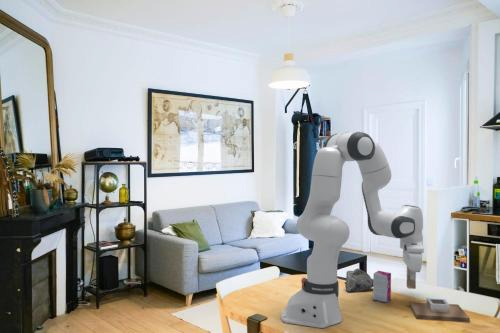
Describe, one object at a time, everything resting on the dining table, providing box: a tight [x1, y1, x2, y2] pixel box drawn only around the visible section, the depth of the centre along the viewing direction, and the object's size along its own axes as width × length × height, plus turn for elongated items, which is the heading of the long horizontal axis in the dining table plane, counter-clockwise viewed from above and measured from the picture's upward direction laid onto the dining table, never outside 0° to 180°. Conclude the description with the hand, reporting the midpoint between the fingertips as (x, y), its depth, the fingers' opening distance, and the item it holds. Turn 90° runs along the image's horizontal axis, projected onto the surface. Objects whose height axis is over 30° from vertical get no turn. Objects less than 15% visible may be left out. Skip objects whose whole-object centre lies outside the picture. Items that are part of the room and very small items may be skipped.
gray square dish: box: [426, 297, 450, 313], centre depth 156 cm, size 7×7×3 cm
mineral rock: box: [345, 267, 373, 293], centre depth 184 cm, size 13×11×10 cm
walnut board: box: [409, 301, 471, 323], centre depth 156 cm, size 18×14×2 cm
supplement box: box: [372, 270, 392, 304], centre depth 171 cm, size 6×6×12 cm
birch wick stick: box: [406, 266, 417, 290], centre depth 170 cm, size 3×3×10 cm
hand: (411, 277), depth 170 cm, fingers closed on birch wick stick, 3 cm apart
